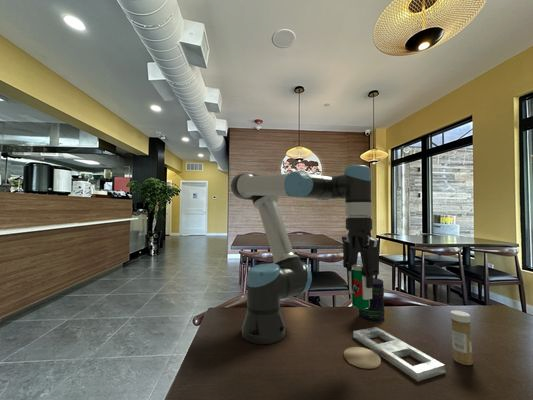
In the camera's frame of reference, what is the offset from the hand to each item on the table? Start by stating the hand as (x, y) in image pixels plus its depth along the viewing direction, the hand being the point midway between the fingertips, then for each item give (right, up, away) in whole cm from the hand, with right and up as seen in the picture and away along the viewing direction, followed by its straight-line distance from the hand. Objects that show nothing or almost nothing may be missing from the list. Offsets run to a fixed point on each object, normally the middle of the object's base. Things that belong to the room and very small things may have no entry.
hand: (360, 295), depth 73 cm
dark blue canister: (+15, -20, +28) cm, 37 cm away
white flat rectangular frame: (+11, -18, +2) cm, 21 cm away
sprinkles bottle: (+28, -18, -3) cm, 34 cm away
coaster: (0, -18, -1) cm, 18 cm away
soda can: (0, -3, 0) cm, 3 cm away
